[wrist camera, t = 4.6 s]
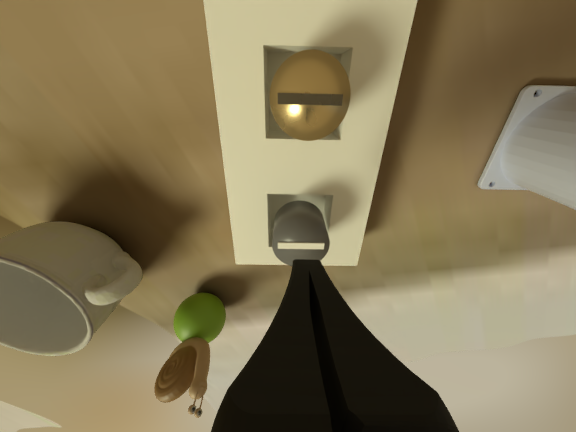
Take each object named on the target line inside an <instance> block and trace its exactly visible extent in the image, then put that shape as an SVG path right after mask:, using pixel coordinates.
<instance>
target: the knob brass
mask: <svg viewBox="0 0 576 432" xmlns="http://www.w3.org/2000/svg"><path fill="white" fill-rule="evenodd" d="M350 96H351V90H350V82H349V79H348V76H347V73H346V71H345V69H344V68H343V66H342V65H341V63H340V62H339V61H338V60H337V59H336V58H335V57H333V56H332V55H330V54H329V53H326V52H324V51H321V50H314V49H310V50H303V51H300V52H297V53H295V54H293V55H292V56H290V57H289V58H287V59H286V60H285V61H284V62H283V63H282V64H281V66H280V67H279V68H278V70H277V71H276V73H275V75H274V78H273V80H272V83H271V88H270V107H271V111H272V114H273V117H274V119H275V121H276V123H277V124H278V126H279V127H280V128H281V129H282V130H283V131H284V132H285V133H286V134H288V135H289V136H291V137H293V138H295V139H298V140H302V141H313V140H318V139H321V138H324V137H326V136H327V135H329V134H331V133H332V132H333V131H334V130H335V129H336V128H337V127H338V126H339V125H340V124H341V122H342V121H343V119H344V117H345V115H346V113H347V111H348V108H349V103H350Z"/></svg>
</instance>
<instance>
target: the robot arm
mask: <svg viewBox="0 0 576 432" xmlns="http://www.w3.org/2000/svg"><path fill="white" fill-rule="evenodd" d="M535 91H537V92H536V94H535V95H534V93H535ZM491 182H492V183H491ZM490 183H491V184H490ZM489 184H490V185H489ZM478 187H479V188H481V189H504V190H530V191H533V192H535V193H537V194H540V195H542V196H544V197H547V198H549V199H551V200H554V201H556V202H559V203H561V204H563V205H566V206H568V207H570V208H573V209H575V210H576V86H548V85H529V86H526V87H524V88H523V89H522V90H521V92H520V94H519V96H518V98H517V100H516V102H515V104H514V107H513V109H512V111H511V113H510V115H509V117H508V119H507V122H506V124H505V126H504V128H503V130H502V132H501V134H500V137H499V139H498V141H497V143H496V145H495V147H494V149H493V152H492V154H491V156H490V158H489V160H488V162H487V164H486V167H485V169H484V171H483V173H482V175H481V177H480V179H479V182H478ZM211 432H459V431H458V429H457V427H456V425H455V423H454V421H453V419H452V417H451V415H450V413H449V411H448V409H447V407H446V406H445V404H444V403H443V401H442V400H441V398H440V396H439V394H438V393H437V392H436V391H435V390H434V389H433V388H431V387H430V386H429V385H428V384H426V383H425V382H424V381H423V380H421V379H420V378H419V377H418V376H417V375H415V374H414V373H413V372H411V371H410V370H409V369H408V368H407V367H406V366H405V365H404V364H403V363H401V362H400V361H399V360H398V359H397V358H396V357H395V356H394V355H393V354H392V353H391V352H390V351H389V350H388V349H387V348H386V347H385V346H384V345H383V344H382V343H381V342H380V341H379V340H378V339H376V338H375V336H374V335H373V334H372V333H371V332H370V331H369V330H368V329H367V328H366V327H365V326H364V324H363V323H362V322H361V321H360V320H359V319H358V317H357V316H356V315H355V314H354V312H353V311H352V310H351V309H350V307H349V306H348V305H347V303H346V302H345V301H344V299H343V298H342V296H341V295H340V294H339V292H338V290H337V289H336V287H335V286H334V284H333V283H332V281H331V280H330V278H329V276H328V274H327V273H326V271H325V269H324V267H323V265H322V263H321V261H320V260H310V259H295V260H293V264H292V272H291V277H290V280H289V283H288V286H287V289H286V292H285V295H284V297H283V300H282V302H281V305H280V307H279V309H278V311H277V313H276V315H275V317H274V319H273V321H272V323H271V325H270V327H269V329H268V331H267V332H266V334H265V336H264V338H263V339H262V341H261V343H260V344H259V346H258V347H257V349H256V350H255V352H254V353H253V355H252V356H251V358H250V359H249V361H248V362H247V364H246V365H245V367H244V368H243V369H242V371H241V372H240V373H239V375H238V376H237V377H236V379H235V380H234V381H233V383H232V384H231V386H230V387H229V388H228V390H227V392H226V394H225V396H224V399H223V401H222V403H221V405H220V408H219V410H218V412H217V415H216V418H215V420H214V424H213V427H212V430H211Z"/></svg>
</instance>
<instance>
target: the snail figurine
mask: <svg viewBox="0 0 576 432" xmlns="http://www.w3.org/2000/svg"><path fill="white" fill-rule="evenodd" d="M225 318H226V312H225V308H224V305H223V303H222V302H221V300H220V299H219V298H218V297H216V296H215V295H213V294H210V293H197V294H194V295H192V296H190V297H188V298H187V299H185V300H184V301H183V302H182V303H181V304H180V306H179V307H178V309H177V311H176V313H175V316H174V330H175V333H176V335H177V337H178V338H179V339H180V340H181V341H182V343H181V344H179V345H178V346H177V347H176V348H175V349H174V351H173V352H172V353H171V355H170V357H169V359H168V360H167V361H166V362H165V364H164V365H163V367H162V368H161V370H160V372H159V375H158V377H157V379H156V383H155V395H156V398H157V399H158V400H159V401H161V402H165V403H166V402H171V401H173V400H175V399H177V398H179V397H180V396H181V395H182V394H184V393H185V391H186V390H187V389H188V388H189V387H190V388H189V395H190V397H191V398H192V399H195V401H196V399H199V398H201V397H202V400H203V395H204V394H205V392H206V390H207V375H208V371H209V364H210V348H209V344H208V343H209V342H211V341H212V340H214V339H215V338H216V337H217V336H218V335H219V333H220V332H221V330H222V328H223V326H224V323H225ZM202 400H201V404H202ZM195 401H194V404H193V405H191V406H190V407H189V409H188V412H189V414H194V413H195V417H197V418H198V417H200V416H201V414H202V410H201V405H200V408H198V409H196V406H195Z"/></svg>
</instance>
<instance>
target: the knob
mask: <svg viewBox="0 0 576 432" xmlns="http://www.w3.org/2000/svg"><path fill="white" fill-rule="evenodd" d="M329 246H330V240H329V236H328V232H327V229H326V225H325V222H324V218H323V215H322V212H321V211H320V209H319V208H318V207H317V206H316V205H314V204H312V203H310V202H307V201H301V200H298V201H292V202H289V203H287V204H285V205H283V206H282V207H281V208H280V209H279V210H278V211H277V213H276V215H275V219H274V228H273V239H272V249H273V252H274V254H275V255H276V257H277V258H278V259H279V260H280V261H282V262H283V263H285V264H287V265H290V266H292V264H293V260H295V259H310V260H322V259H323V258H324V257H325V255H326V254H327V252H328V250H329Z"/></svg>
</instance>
